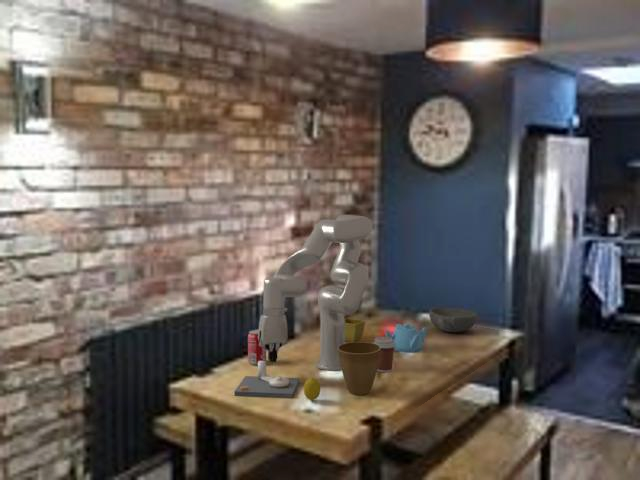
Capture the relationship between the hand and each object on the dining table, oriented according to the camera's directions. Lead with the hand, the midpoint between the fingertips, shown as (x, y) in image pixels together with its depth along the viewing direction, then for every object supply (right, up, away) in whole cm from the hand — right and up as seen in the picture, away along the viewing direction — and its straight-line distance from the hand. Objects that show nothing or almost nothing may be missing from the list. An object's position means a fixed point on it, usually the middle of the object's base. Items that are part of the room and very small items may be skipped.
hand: (272, 361), depth 249 cm
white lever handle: (0, -6, -5) cm, 8 cm away
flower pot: (+32, -1, +57) cm, 65 cm away
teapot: (+54, -3, +45) cm, 70 cm away
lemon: (+14, -10, -20) cm, 26 cm away
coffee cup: (+42, -6, +15) cm, 45 cm away
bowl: (+80, +1, +75) cm, 110 cm away
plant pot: (+31, -9, -10) cm, 34 cm away
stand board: (-1, -8, -7) cm, 11 cm away
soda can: (-8, -5, +23) cm, 25 cm away
